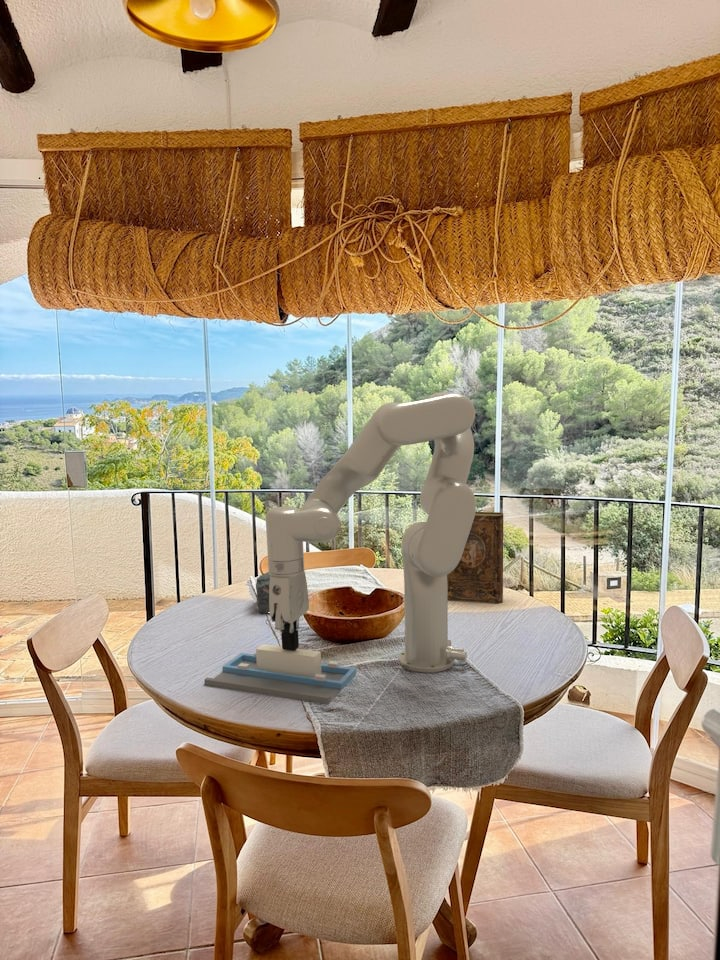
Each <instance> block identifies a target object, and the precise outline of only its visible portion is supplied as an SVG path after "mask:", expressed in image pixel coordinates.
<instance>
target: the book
mask: <svg viewBox="0 0 720 960" xmlns="http://www.w3.org/2000/svg"><path fill="white" fill-rule="evenodd" d="M447 583H448V601H455V602H465V603H466V602H468V603H469V602H470V603H482V604H483V603H484V604H497V605H499V604H501V603H503V600H504V513H503V512H498V511H497V512H493V511H476V512H475V517H474V520H473V523H472V527H471V530H470V533H469V536H468V539H467V542H466V545H465V548H464V551H463V554H462V556H461V559H460V561H459V563H458V565H457V566H456V568H455V569H454V570H453V571H452V572H451V573H449V574H447Z"/></svg>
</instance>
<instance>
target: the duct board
mask: <svg viewBox="0 0 720 960" xmlns="http://www.w3.org/2000/svg"><path fill="white" fill-rule="evenodd" d="M356 675H357V668H356V667H349V666H341V665H340V662H339V661H334V660H333V661H332V660H330V661H329V662H328V663H321V674H316V675H315V676H314V677H308V676H301V675H294V674H287V673H280V672H273V671H266V670H259V669H257V661H256V651H255V652H254V653H253V654H251V653H244V652H240V653H239V654H238V655H236V656H234V657H233V658H232V659H231V660H229V661H228V662H227V663H225V664H223V665H222V672H220V673H219V674H217V675H216V676H215V677H206V678H204V686H209V687H214V688H215V687H216V688H220V689H228V690H234V691H238V692H239V691H241V692H246V693H254V694H260V695H266V696H272V697H273V696H274V697H279V698H284V699H285V698H286V699H291V700H292V699H293V700H297V701H298V700H299V701H305V702H311V703H316V704H323V705H324V704H325V705H330V704H331V703H332V701H333V700H334V699H335V698H336V697H337V695H338V694H340V692H341V691H342V690H343V689H344V688H345V687H346V686H347V684H349V683H350V681H352V679H354V677H355V676H356Z"/></svg>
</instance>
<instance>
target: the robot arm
mask: <svg viewBox="0 0 720 960" xmlns="http://www.w3.org/2000/svg"><path fill="white" fill-rule="evenodd" d="M475 419H476V408H475V406H474V404H473V402H472V401H471V399H470V398H469V397H468V396H466V395H464V394H462V393H458V392H448V391H447V392H445V391H443V392H442V391H441V392H436V393H435V392H434V393H433V394H431V395H429V396H428V397H427V398H426V399H421V400H417V401H409V402H402V403H401V402H386V403H384V404H382V405H381V406H380V407H378V408H376V410H375V411H374V412H373V414H372V416H371V417H370V418H369V419H368V421H367V422H366V423H365V425H364V426H363V428H362V429H361V431H360V432H359V433H358V435H357V436H356V438H355V439H354V440H353V442H352V443H351V444H350V446H349V447H348V448H347V450H346V451H345V453H344V454H343V455H342V456H341V457H340V458H339V459H338V461H337V462H336V463H335V464H334V465H333V466H332V468H331V469H330V470H329V471H328V472H327V473H326V474H325V475H324V476H323V478H322V479H321V480H320V481H319V483H318V484H317V485H316V487H315V488H314V490H312V492H311V494H310V495H309V496H308V497H307V499H306V500H305V502H304V504H303V505H302V507H301V509H299V508H298V507H296V506H295V507H294V506H285V505H284V506H278V507H277V506H276V507H272V508H270V509H268V510H267V511H266V513H265V529H266V548H267V567H268V572H269V575H271V576H270V585H269V609H270V613H269V616H270V617H269V618H270V620H271V621H272V622H275V623H274V630H279V632H280V634H281V647H282V649H284V650H292V651H295V650H296V649H299V648H300V647H299V645H300V643H299V642H300V641H299V628H300V618H301V617H302V616H303V615H305V614H306V613H307V612H308V611H309V609H310V603H309V601H310V600H309V590H308V581H307V577H306V572H305V558H304V556H305V555H304V542H306V543H327V542H331V541H332V540H334V539H335V538H336V537H337V536H338V534H339V533H340V531H341V519H340V517H339V516H338V513H339V512H340V511H341V509H342V508H343V506H344V505H345V504H346V503H347V501H348V500H349V499H350V498H351V497H352V496H353V495H354V494H355V493H356V492H358V490H360V489H362V488H364V487H366V486H369V485H370V484H371V483H373V482H374V481H375V480H377V478H378V477H379V476H380V475H381V473H382V472H383V470H384V469H385V467H386V466H387V464H388V463H389V461H390V460H391V458H392V457H393V456H394V454H395V453H396V452H397V451H398V449H399V448H400V446H409V445H416V444H423V443H426V442H431V441H434V450H433V454H432V458H431V463H430V465H429V468H428V472H427V475H426V477H425V480H424V483H423V486H422V489H421V492H420V497H419V504H420V506H421V508H422V510H423V511H424V512H425V514H426V515H428V516H427V519H426V521H418V522H415V523H413V524H411V525H410V526H409V527H407V529H406V530H405V531H404V534H403V536H402V539H401V543H400V544H401V545H400V547H401V551H400V552H401V560H402V567H403V580H404V581H403V584H404V586H403V587H404V588H403V589H404V590H403V593H404V594H403V595H404V597H403V598H404V600H403V601H404V650H403V651H401V652H400V653H399V654H398V657H397V659H398V662H399V663H400V664H401V667H403V668H404V669H407V670H409V671H412V672H418V673H437V672H442V671H446V670H448V669H451V668H452V667H453V666H454V665H455V662H456V660H457V661H462V662H466V661H467V658H468V653H467V651H465V649H464V648H461V647H454V646H453V645H452V640H449V639H448V638H449V637H448V636H449V634H448V632H449V631H448V630H449V629H448V626H449V623H448V620H449V619H448V617H449V616H448V614H449V613H448V610H449V609H448V607H449V606H448V605H449V604H448V602H449V600H448V583H447V574H449V573H451V572H452V571H453V570H454V569H455V568H456V566H457V565H458V563H459V561H460V559H461V556H462V554H463V551H464V548H465V545H466V542H467V539H468V536H469V533H470V530H471V527H472V523H473V520H474V517H475V512H477V511H476V510H477V500H476V497H475V493H474V492H473V491H472V489H471V488H470V487H469V486H468V485H467V482H468V478H469V474H470V471H471V467H472V463H473V460H474V453H475V441H474V435H473V431H472V429H471V427H472V425H473V424H474V421H475Z"/></svg>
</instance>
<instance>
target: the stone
mask: <svg viewBox="0 0 720 960" xmlns="http://www.w3.org/2000/svg"><path fill="white" fill-rule="evenodd" d="M270 576H271V575H269V571H268V572H266V573H263V574H261V575H259V577H257V578H256V584H255V590H256V603H257V605H256V606H257V611H258V612H259V613H261V614H262V613H263V614H269V613H268V612H270V609H269V585H270Z"/></svg>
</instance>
